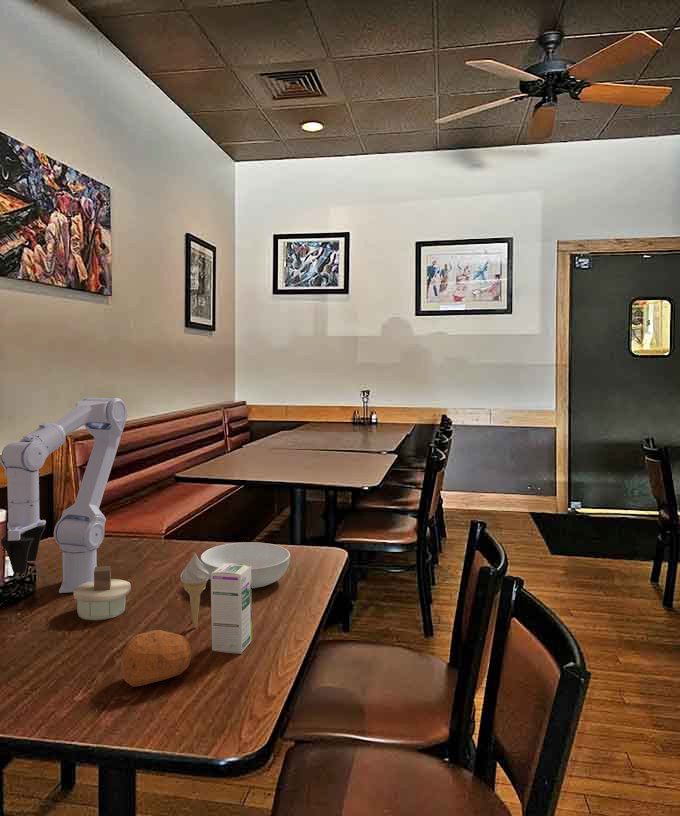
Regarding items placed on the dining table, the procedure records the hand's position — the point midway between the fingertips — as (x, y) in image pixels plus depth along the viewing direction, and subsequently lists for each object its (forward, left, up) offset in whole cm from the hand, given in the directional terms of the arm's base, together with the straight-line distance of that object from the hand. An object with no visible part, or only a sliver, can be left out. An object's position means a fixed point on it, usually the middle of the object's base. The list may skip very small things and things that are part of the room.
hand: (24, 566), depth 132 cm
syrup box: (+27, +39, -10) cm, 48 cm away
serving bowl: (-7, +46, -10) cm, 48 cm away
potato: (+36, +26, -10) cm, 46 cm away
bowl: (+4, +15, -9) cm, 18 cm away
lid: (+4, +15, -5) cm, 17 cm away
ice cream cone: (+17, +33, -10) cm, 38 cm away
